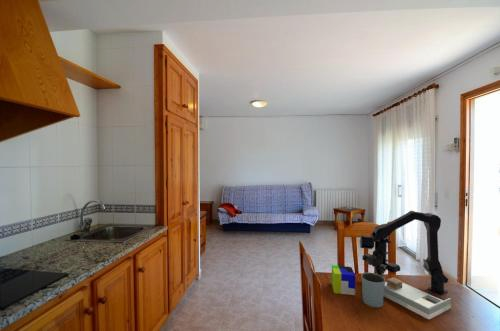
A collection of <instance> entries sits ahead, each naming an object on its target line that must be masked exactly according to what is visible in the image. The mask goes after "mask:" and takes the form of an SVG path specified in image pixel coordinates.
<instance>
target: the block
mask: <svg viewBox="0 0 500 331" xmlns="http://www.w3.org/2000/svg"><path fill="white" fill-rule="evenodd" d="M386 282H387V286H389V287H391V288H393V289H395V290H397V289H400V288H402V283H403V281H402V280H400V279H397V278H396V277H390V278H387V279H386Z"/></svg>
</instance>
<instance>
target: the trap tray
mask: <svg viewBox="0 0 500 331" xmlns="http://www.w3.org/2000/svg"><path fill="white" fill-rule="evenodd" d="M383 297H385V298H386V299H389V300H391V301H393V302H394V303H396V304H399V305H401V306H402V307H404V308H406V309H408V310H410V311H412V312H414V313H415V314H417V315H420V316H422V318H424V319H427V320H431V319H433V318H435V317H437V316H439V315H441V314H443V313H444V312H446V311H448V310H450V309H452V298H451V297H449V298H445V300H443V299H441V298H438V297H436V296H434V295H431V294H430V293H427V292H425V291H422V290H420V289H418V288H416V287H414V286H411V285H410V284H407V283H405V282H402V288H400V289H397V290H395V289H393V288H391V287H389V286H387V281H385V286H384V296H383Z"/></svg>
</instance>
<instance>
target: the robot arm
mask: <svg viewBox="0 0 500 331" xmlns="http://www.w3.org/2000/svg"><path fill="white" fill-rule="evenodd" d="M415 220H416V221H419V222H422V223H423V225H424V227H425V229H426V246H427V247H426V249H427V252H426V253H427V257H426V259H425V258H424V259H422V261H423V262H422V263H423V265H422V267H423V268H424V270H425V272H427V273H428V275H429V276H430V286H429V287H427V290H429V291H431V292H434V293H436V294H438V295H441V296H442V295H445V294H446V293H448V290H447V289H446V288H445V284H447V283H449V278H448V277H447V276H445V275H444V271H443V267H442V264H441V263H440V260H439V258H440V257H439V241H438V240H439V239H438V238H439V236H438V233H439V230H440V228H441V223H442V219H441V217H440V216H438V215H436V214H434V213H432V212H426V213H424V212H419V211H414V210H409V211H408V212H407V213H405V214H403V215H401V216H399V217H396V218H395V219H394V220H391V221H389V222H388V223H382V224H379V225H376V226H374V229H373V231H372V232H371V234H369V236H368V235H362V234H361V235H360V238H359V248H360V249H364V250H365V249H367V250H372V249H374V250H373V251H372V254H371V253H365V254H363V255H362V259H361V260H362V261H365V262H367V264H368V265H369V266H372V267H374V269H375V271H376V274H378V275H381V276H382V277H384V274H385V272H386V271H389V273H397V272H400V271H401V266H400V265H399V264H396V263H394V262H390V263H388V262H389V260H388V259H387V255H388V254H389V251H388V250H387V249H388V248H387V247H388V245H387V244H391V243H392V242H391V240H390V239H389V236H390V235H392V234H393V232H395V231H396V230H398V229H399V228H402V227H404V226H405V225H408V224H409V223H411V222H414V221H415Z"/></svg>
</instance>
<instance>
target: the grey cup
mask: <svg viewBox="0 0 500 331" xmlns="http://www.w3.org/2000/svg"><path fill="white" fill-rule="evenodd" d="M360 277H361V284H362V285H361V290H362V293H361V294H362V301H363V303H364V304H366V305H367V306H369V307H372V308H381V307H383V305H384V297H385V296H384V286H385V282H386V278H385V277H384V276H381V275H378V274H377V273H374V272H363V273H361V276H360Z"/></svg>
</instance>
